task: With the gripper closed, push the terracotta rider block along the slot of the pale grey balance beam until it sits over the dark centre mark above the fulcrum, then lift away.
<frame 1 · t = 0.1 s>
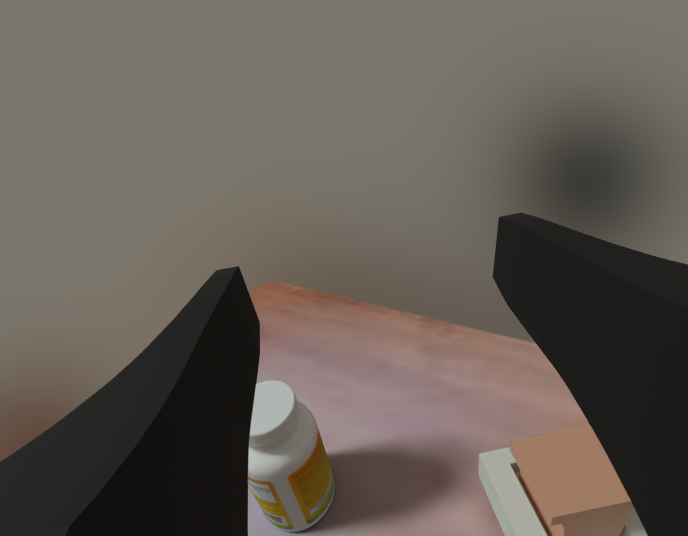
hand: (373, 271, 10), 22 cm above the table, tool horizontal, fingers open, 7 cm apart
rider: (569, 487, 20), point 5 cm above the table, slide at 5.0 cm
supplement bottle: (300, 494, 27), on the table
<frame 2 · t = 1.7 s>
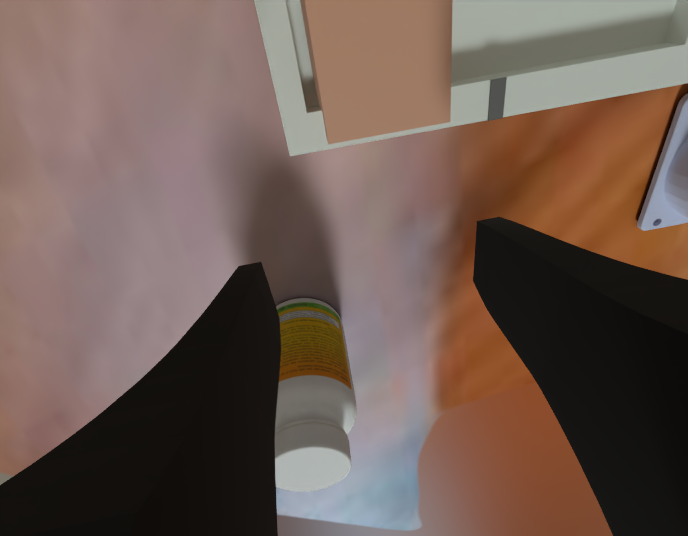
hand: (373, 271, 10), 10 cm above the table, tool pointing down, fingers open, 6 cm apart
rider: (370, 43, 12), point 5 cm above the table, slide at 5.0 cm
supplement bottle: (302, 324, 25), on the table
beam: (464, 16, 16), on the table
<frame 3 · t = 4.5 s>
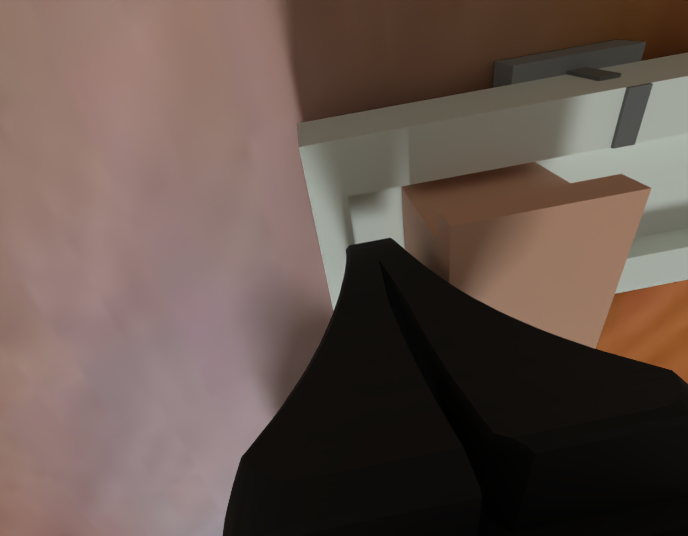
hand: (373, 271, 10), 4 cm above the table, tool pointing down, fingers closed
rider: (494, 255, 10), point 5 cm above the table, slide at 3.8 cm, touching gripper
beam: (536, 170, 14), on the table
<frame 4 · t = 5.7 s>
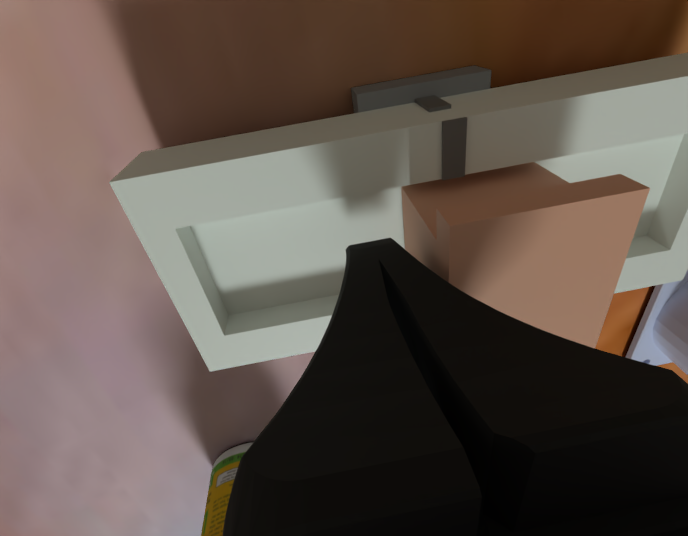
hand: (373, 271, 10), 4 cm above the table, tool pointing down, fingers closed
rider: (493, 255, 10), point 5 cm above the table, slide at -0.8 cm, touching gripper
supplement bottle: (258, 460, 23), on the table
beam: (417, 193, 14), on the table
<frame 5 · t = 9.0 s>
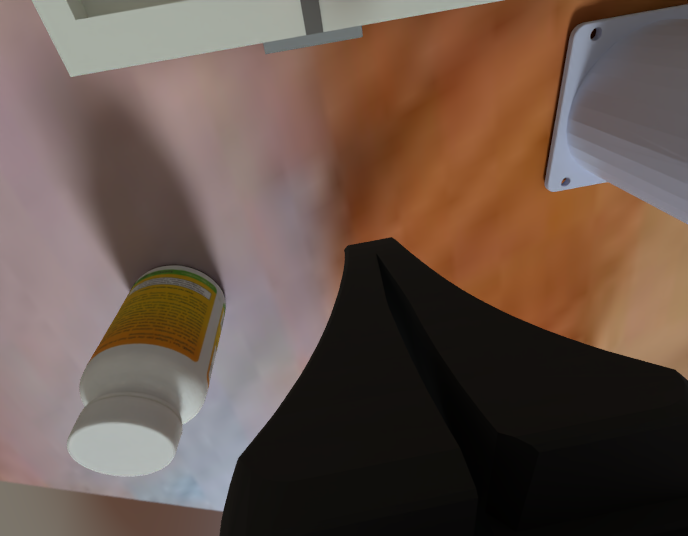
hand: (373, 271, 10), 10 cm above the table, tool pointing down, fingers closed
supplement bottle: (182, 297, 23), on the table
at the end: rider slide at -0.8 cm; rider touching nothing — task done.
